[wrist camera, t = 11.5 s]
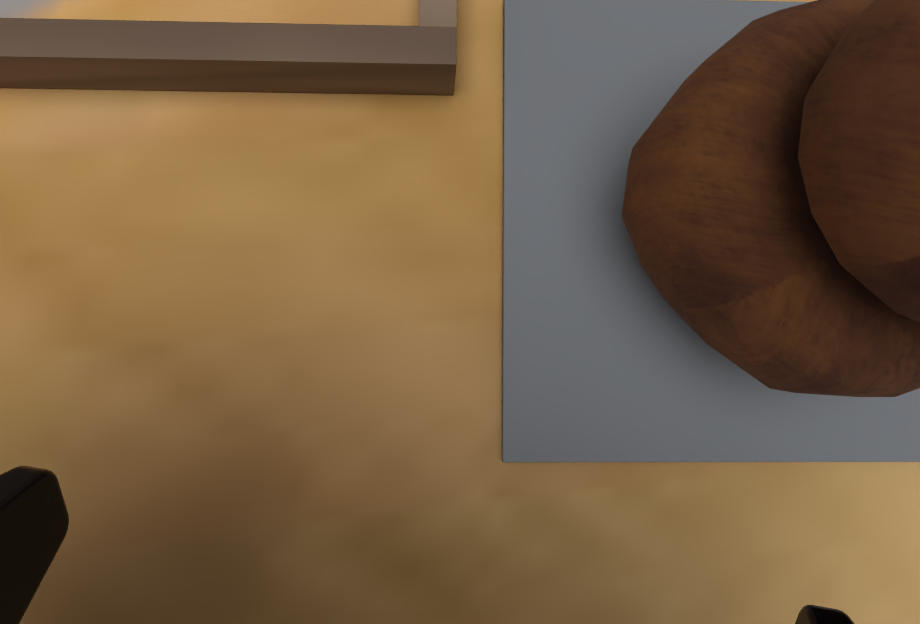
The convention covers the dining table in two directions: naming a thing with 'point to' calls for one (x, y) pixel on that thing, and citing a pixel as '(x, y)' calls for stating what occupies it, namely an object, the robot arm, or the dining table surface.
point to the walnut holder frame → (233, 55)
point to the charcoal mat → (629, 262)
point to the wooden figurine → (794, 199)
